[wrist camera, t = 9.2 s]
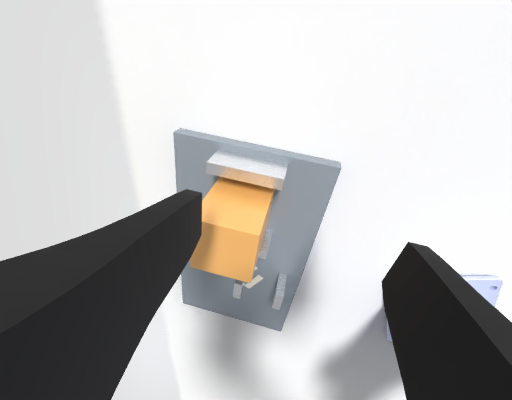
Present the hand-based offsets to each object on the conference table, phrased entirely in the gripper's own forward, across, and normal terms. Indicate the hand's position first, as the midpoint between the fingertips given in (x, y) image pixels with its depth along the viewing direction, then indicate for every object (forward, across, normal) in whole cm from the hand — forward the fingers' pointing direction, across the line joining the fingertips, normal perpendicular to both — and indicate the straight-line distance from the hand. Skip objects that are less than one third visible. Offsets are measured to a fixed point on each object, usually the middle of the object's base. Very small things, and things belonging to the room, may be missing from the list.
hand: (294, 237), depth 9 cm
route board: (+10, +3, +11) cm, 15 cm away
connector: (+9, +3, +5) cm, 11 cm away
